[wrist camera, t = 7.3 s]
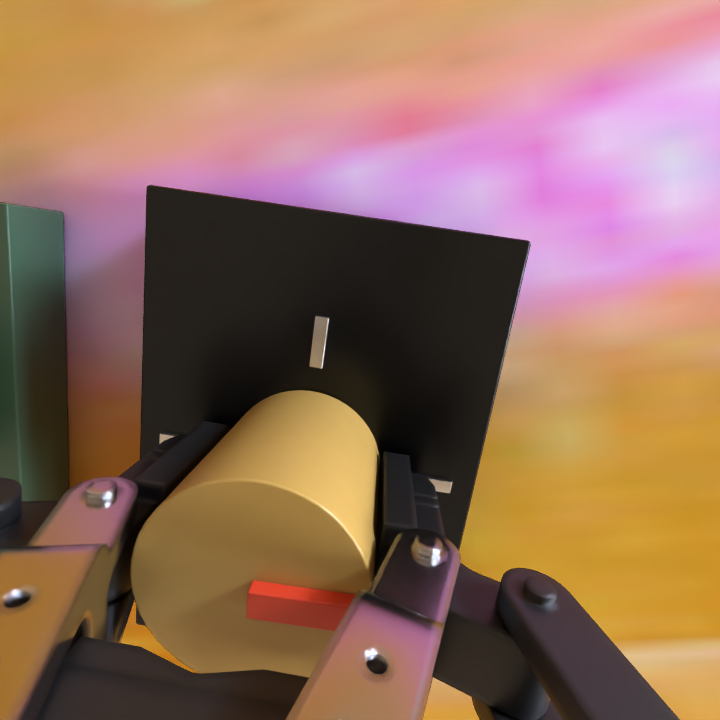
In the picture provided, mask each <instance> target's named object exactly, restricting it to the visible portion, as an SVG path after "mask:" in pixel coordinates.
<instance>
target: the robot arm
mask: <svg viewBox="0 0 720 720" xmlns="http://www.w3.org/2000/svg"><path fill="white" fill-rule="evenodd" d="M229 431H230V427H229V425H224V424H218V423H212V422H206V421H202V422H201V423H200V424H198V425H197V426H196V427H195V428H194V429H192V430H191V431H190V432H189V433H188V434H187V435H183V434H180V435H177V436H175V437H172V438H169V439H167V440H164V441H163V442H162V443H160V444H159V445H158V446H157V447H155V448H154V449H153V451H150V452H149V453H148V454H147V455H145V456H144V458H142V459H140V460H139V461H138V462H137V463H135V464H134V465H133V466H131V467H130V468H129V469H128V470H126V471H125V472H124V473H123V474H121V475H120V476H119V477H101V478H95V479H91V480H87V481H84V482H81V483H79V484H77V485H75V486H73V487H71V488H70V489H69V490H67V492H66V493H65V494H64V495H63V496H62V498H61V499H60V500H57V501H22V487H21V484H20V483H19V482H17V481H15V480H13V479H9V478H1V477H0V720H423V716H424V712H425V707H426V703H427V699H428V695H429V691H430V687H431V683H432V679H433V677H434V678H436V679H438V680H440V681H442V682H444V683H446V684H448V685H450V686H452V687H454V688H456V689H458V690H460V691H462V692H464V693H465V694H467V695H469V696H471V697H472V701H473V705H474V708H475V710H476V713H477V715H478V717H479V719H480V720H680V719H679V718H678V717H677V716H676V715H675V714H674V713H673V711H672V710H671V709H670V708H669V707H668V706H667V704H666V703H665V702H664V701H663V700H662V699H661V697H660V696H659V695H658V694H657V693H656V692H655V691H654V689H653V688H652V687H651V686H650V685H649V684H648V682H647V681H646V680H645V679H644V678H643V677H642V676H641V674H640V673H639V672H638V671H637V670H636V669H635V667H634V666H633V665H632V664H631V663H630V662H629V661H628V659H627V658H626V657H625V656H624V655H623V654H622V652H621V651H620V650H619V649H618V648H617V647H616V646H615V644H614V643H613V642H612V641H611V640H610V639H609V637H608V636H607V635H606V634H605V633H604V632H603V631H602V629H601V628H600V627H599V626H598V625H597V624H596V622H595V621H594V620H593V619H592V618H591V617H590V616H589V614H588V613H587V612H586V611H585V610H584V609H583V607H582V606H581V605H580V604H579V603H578V602H577V601H576V599H575V598H574V597H573V596H572V595H571V594H570V592H569V591H568V590H567V589H566V588H565V587H563V586H562V585H561V584H560V583H558V582H557V581H556V580H554V579H552V578H551V577H549V576H547V575H545V574H543V573H540V572H538V571H535V570H531V569H526V568H514V569H510V570H508V571H506V572H505V573H504V574H503V577H502V579H501V582H498V581H496V580H493V579H491V578H488V577H486V576H483V575H481V574H478V573H476V572H474V571H472V570H470V569H469V568H467V567H466V566H464V565H463V564H462V563H460V559H461V558H460V553H459V551H458V549H457V548H456V546H455V545H454V544H453V543H452V542H451V541H450V540H448V539H447V538H446V536H445V531H444V527H443V522H442V517H441V513H440V509H439V503H438V499H437V494H436V489H435V486H434V485H433V483H432V482H431V481H430V480H429V479H428V478H427V477H426V475H421V474H415V473H411V466H410V457H409V455H403V454H397V453H391V452H385V451H384V454H383V459H382V464H381V470H380V476H379V488H378V509H377V530H376V551H375V572H374V580H373V582H372V584H371V586H370V588H369V590H368V591H366V590H364V589H362V588H361V589H359V590H358V592H357V593H356V595H355V596H354V598H353V600H352V602H351V603H350V605H349V607H348V609H347V611H346V612H345V614H344V616H343V618H342V620H341V621H340V623H339V625H338V627H337V628H336V630H335V632H334V634H333V636H332V637H331V639H330V641H329V643H328V645H327V646H326V648H325V650H324V652H323V654H322V655H321V657H320V659H319V661H318V662H317V664H316V666H315V668H314V670H313V671H312V673H311V675H310V677H304V676H298V675H293V674H287V673H282V672H276V671H271V670H265V669H261V670H246V671H231V672H217V673H202V674H201V673H192V672H190V671H187V670H185V669H183V668H181V667H179V666H177V665H175V664H173V663H172V662H170V661H168V660H166V659H164V658H162V657H160V656H158V655H156V654H154V653H152V652H150V651H148V650H146V649H144V648H142V647H139V646H133V645H128V644H122V643H120V642H121V639H122V636H123V633H124V630H125V627H126V624H127V621H128V617H129V614H130V611H131V608H132V605H133V602H134V595H133V591H132V587H131V577H130V570H131V558H132V553H133V549H134V545H135V542H136V540H137V537H138V534H139V532H140V531H141V529H142V527H143V525H144V524H145V522H146V520H147V519H148V518H149V517H150V516H151V514H152V513H153V512H154V511H155V510H156V508H157V507H158V506H159V505H160V504H161V503H162V502H163V501H164V500H165V499H166V498H167V497H168V496H169V495H170V494H171V493H172V491H173V490H174V489H175V488H176V487H177V486H178V485H179V484H180V483H181V482H182V481H183V480H184V479H185V478H186V477H187V475H188V474H189V473H190V472H191V471H192V470H193V469H194V468H195V467H196V466H197V465H198V464H199V463H200V462H201V461H202V460H203V458H204V457H205V456H206V455H207V454H208V453H209V452H210V451H211V450H212V449H213V448H214V447H215V446H216V445H217V444H218V443H219V441H220V440H221V439H222V438H223V437H224V436H225V435H226V434H227V433H228V432H229Z"/></svg>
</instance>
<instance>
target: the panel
mask: <svg viewBox="0 0 720 720" xmlns="http://www.w3.org/2000/svg"><path fill="white" fill-rule="evenodd" d="M530 245H531V244H530V242H529V241H527V240H520V239H514V238H507V237H500V236H493V235H487V234H480V233H473V232H466V231H459V230H453V229H446V228H439V227H432V226H426V225H419V224H412V223H405V222H398V221H392V220H385V219H378V218H371V217H364V216H358V215H351V214H344V213H337V212H331V211H324V210H317V209H310V208H303V207H297V206H290V205H283V204H276V203H270V202H263V201H256V200H249V199H242V198H236V197H229V196H222V195H215V194H209V193H202V192H195V191H188V190H181V189H175V188H168V187H161V186H154V185H149V186H147V195H146V236H145V276H144V317H143V357H142V398H141V439H140V459H142V458H144V456H145V455H147V454H148V453H149V452H150V451H153V449H154V448H155V447H157V446H158V445H159V444H160V443H162V442H163V441H164V440H167V439H169V438H172V437H175V436H177V435H180V434H183V435H187V434H188V433H189V432H190V431H191V430H192V429H194V428H195V427H196V426H197V425H198V424H200V423H201V422H202V421H206V422H212V423H218V424H224V425H229V427H230V430H231V429H232V428H233V427H234V426H235V424H236V423H237V422H238V421H239V420H240V419H241V418H242V417H243V416H244V415H245V414H246V413H247V412H248V411H249V410H250V409H251V408H252V407H253V406H254V405H256V404H257V403H259V402H260V401H262V400H264V399H266V398H268V397H270V396H272V395H275V394H278V393H282V392H287V391H296V390H304V391H313V392H319V393H322V394H326V395H329V396H331V397H333V398H336V399H338V400H340V401H341V402H343V403H345V404H346V405H348V406H349V407H350V408H351V409H353V410H354V411H355V412H356V413H357V414H358V415H359V416H360V417H361V418H362V419H363V420H364V422H365V423H366V424H367V426H368V427H369V429H370V431H371V433H372V434H373V436H374V439H375V442H376V444H377V448H378V452H379V461H380V467H379V476H380V470H381V464H382V459H383V454H384V451H385V452H391V453H397V454H403V455H409V457H410V466H411V473H415V474H421V475H426V477H427V478H428V479H429V480H430V481H431V482H432V483H433V485H434V486H435V489H436V494H437V499H438V503H439V509H440V513H441V517H442V522H443V527H444V531H445V536H446V538H447V539H448V540H450V541H451V542H452V543H453V544H454V545H455V546H456V548H457V549H458V551H459V549H460V545H461V541H462V536H463V532H464V528H465V523H466V519H467V515H468V511H469V506H470V502H471V498H472V494H473V489H474V485H475V481H476V476H477V472H478V468H479V464H480V459H481V455H482V451H483V446H484V442H485V438H486V434H487V429H488V425H489V421H490V417H491V412H492V408H493V404H494V399H495V395H496V391H497V387H498V382H499V378H500V374H501V369H502V365H503V361H504V357H505V352H506V348H507V344H508V340H509V335H510V331H511V327H512V322H513V318H514V314H515V310H516V305H517V301H518V297H519V292H520V288H521V284H522V280H523V275H524V271H525V267H526V263H527V258H528V254H529V250H530ZM136 623H137V624H139V625H144V626H146V624H145V622H144V620H143V619H142V617H141V615H140V613H139V610H138V608H137V605H136Z"/></svg>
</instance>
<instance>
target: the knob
mask: <svg viewBox="0 0 720 720" xmlns="http://www.w3.org/2000/svg"><path fill="white" fill-rule="evenodd" d="M379 467H380V461H379V452H378V448H377V444H376V442H375V439H374V436H373V434H372V433H371V431H370V429H369V427H368V426H367V424H366V423H365V422H364V420H363V419H362V418H361V417H360V416H359V415H358V414H357V413H356V412H355V411H354V410H353V409H351V408H350V407H349V406H348V405H346V404H345V403H343V402H341V401H340V400H338V399H336V398H333V397H331V396H329V395H326V394H322V393H319V392H313V391H304V390H296V391H287V392H282V393H278V394H275V395H272V396H270V397H268V398H266V399H264V400H262V401H260V402H259V403H257V404H256V405H254V406H253V407H252V408H251V409H250V410H249V411H248V412H247V413H246V414H245V415H244V416H243V417H242V418H241V419H240V420H239V421H238V422H237V423H236V424H235V426H234V427H233V428H232V429H231V430H230V431H229V432H228V433H227V434H226V435H225V436H224V437H223V438H222V439H221V440H220V441H219V443H218V444H217V445H216V446H215V447H214V448H213V449H212V450H211V451H210V452H209V453H208V454H207V455H206V456H205V457H204V458H203V460H202V461H201V462H200V463H199V464H198V465H197V466H196V467H195V468H194V469H193V470H192V471H191V472H190V473H189V474H188V475H187V477H186V478H185V479H184V480H183V481H182V482H181V483H180V484H179V485H178V486H177V487H176V488H175V489H174V490H173V491H172V493H171V494H170V495H169V496H168V497H167V498H166V499H165V500H164V501H163V502H162V503H161V504H160V505H159V506H158V507H157V508H156V510H155V511H154V512H153V513H152V514H151V516H150V517H149V518H148V519H147V520H146V522H145V524H144V525H143V527H142V529H141V531H140V532H139V534H138V537H137V540H136V542H135V545H134V549H133V553H132V558H131V570H130V577H131V587H132V591H133V595H134V600H135V603H136V605H137V608H138V610H139V613H140V615H141V617H142V619H143V620H144V622H145V624H146V626H147V627H148V629H149V630H150V631H151V633H152V634H153V636H154V637H155V638H156V639H157V641H158V642H159V643H160V644H161V645H162V646H163V647H164V648H165V649H166V650H167V651H168V652H169V653H170V654H172V655H173V656H174V657H175V658H176V659H178V660H179V661H180V662H182V663H183V664H185V665H186V666H188V667H189V668H191V669H193V670H194V671H196V672H198V673H201V674H202V673H217V672H231V671H246V670H261V669H265V670H271V671H276V672H282V673H287V674H293V675H298V676H304V677H310V675H311V673H312V671H313V670H314V668H315V666H316V664H317V662H318V661H319V659H320V657H321V655H322V654H323V652H324V650H325V648H326V646H327V645H328V643H329V641H330V639H331V637H332V636H333V634H334V632H335V630H336V628H337V627H338V625H339V623H340V621H341V620H342V618H343V616H344V614H345V612H346V611H347V609H348V607H349V605H350V603H351V602H352V600H353V598H354V596H355V595H356V593H357V592H358V590H359V589H361V588H362V589H364V590H366V591H368V590H369V588H370V586H371V584H372V582H373V580H374V572H375V551H376V530H377V509H378V488H379Z"/></svg>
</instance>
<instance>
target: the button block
mask: <svg viewBox="0 0 720 720" xmlns="http://www.w3.org/2000/svg"><path fill="white" fill-rule="evenodd" d="M0 477H1V478H9V479H13V480H15V481H17V482H19V483H20V484H21V487H22V501H57V500H60V499H61V498H62V496H63V495H64V494H65V493H66V492H67V490H69V475H68V424H67V372H66V321H65V270H64V219H63V212H61V211H55V210H48V209H41V208H35V207H28V206H22V205H15V204H8V203H2V202H0Z"/></svg>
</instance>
